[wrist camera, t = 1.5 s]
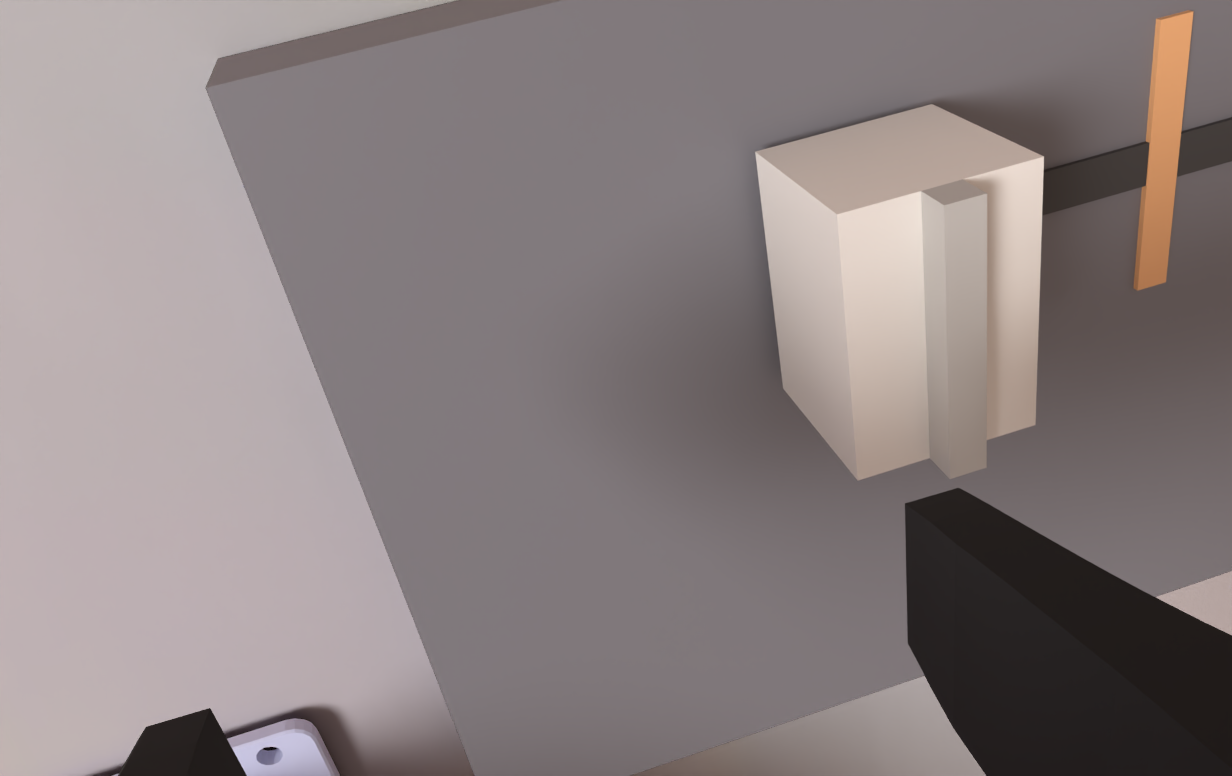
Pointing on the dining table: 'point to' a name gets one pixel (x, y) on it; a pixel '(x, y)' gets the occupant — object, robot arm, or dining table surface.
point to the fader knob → (906, 286)
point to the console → (718, 334)
